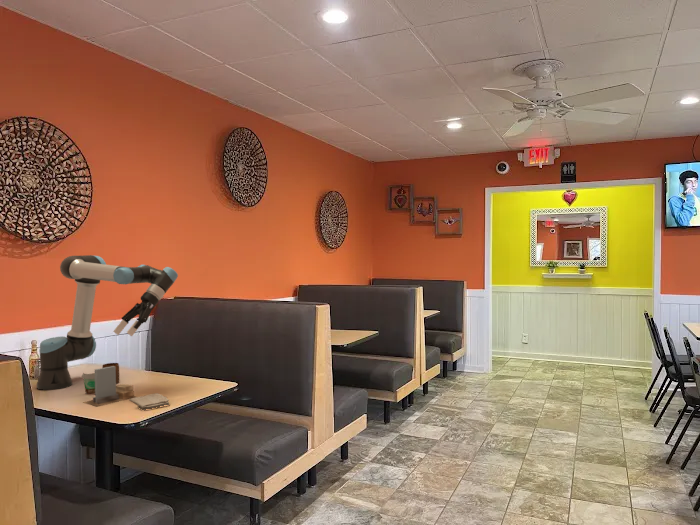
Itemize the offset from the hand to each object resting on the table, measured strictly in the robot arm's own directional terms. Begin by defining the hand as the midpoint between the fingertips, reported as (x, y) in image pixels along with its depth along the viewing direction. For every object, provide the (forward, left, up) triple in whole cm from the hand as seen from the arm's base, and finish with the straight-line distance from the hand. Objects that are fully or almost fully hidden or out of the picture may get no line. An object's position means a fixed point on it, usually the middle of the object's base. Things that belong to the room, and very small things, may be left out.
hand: (122, 333), depth 230 cm
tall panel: (+8, -3, -27) cm, 29 cm away
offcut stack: (0, 0, -27) cm, 27 cm away
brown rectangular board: (+6, -2, -29) cm, 29 cm away
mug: (-24, -23, -29) cm, 44 cm away
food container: (-4, -17, -29) cm, 34 cm away
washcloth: (+7, +17, -29) cm, 34 cm away
